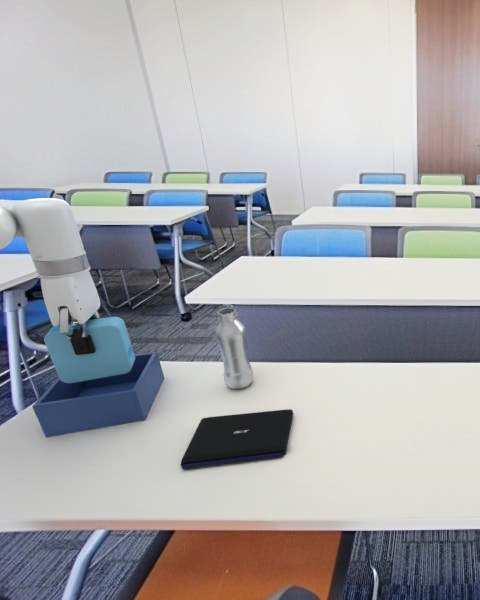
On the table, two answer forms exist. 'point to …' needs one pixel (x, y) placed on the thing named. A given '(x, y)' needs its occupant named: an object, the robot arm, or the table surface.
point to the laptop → (239, 438)
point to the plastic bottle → (233, 349)
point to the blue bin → (101, 399)
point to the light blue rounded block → (103, 363)
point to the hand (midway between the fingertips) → (91, 346)
